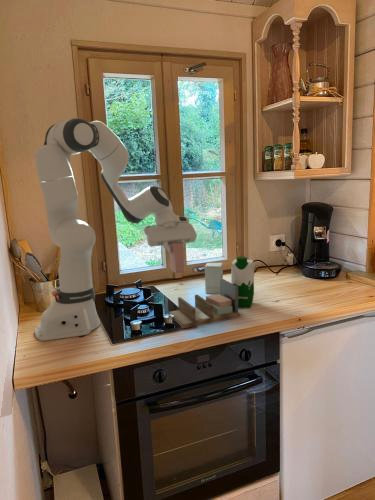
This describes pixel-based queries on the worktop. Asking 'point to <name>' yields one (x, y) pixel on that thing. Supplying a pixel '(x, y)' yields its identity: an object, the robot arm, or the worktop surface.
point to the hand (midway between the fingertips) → (176, 251)
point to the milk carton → (243, 280)
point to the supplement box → (213, 277)
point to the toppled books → (220, 304)
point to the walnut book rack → (198, 313)
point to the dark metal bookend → (230, 293)
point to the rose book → (176, 257)
